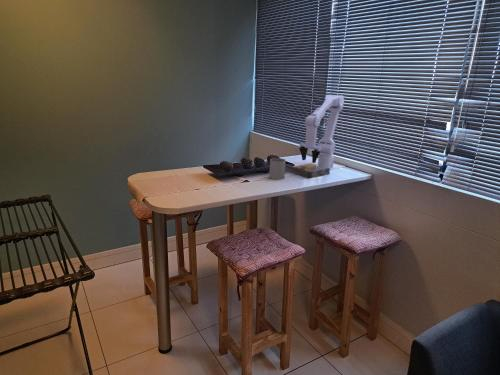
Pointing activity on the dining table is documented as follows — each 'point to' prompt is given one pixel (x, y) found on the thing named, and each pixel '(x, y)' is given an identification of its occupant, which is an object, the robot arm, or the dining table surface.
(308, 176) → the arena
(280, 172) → the cup
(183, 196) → the dining table surface
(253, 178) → the dining table surface
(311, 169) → the block
